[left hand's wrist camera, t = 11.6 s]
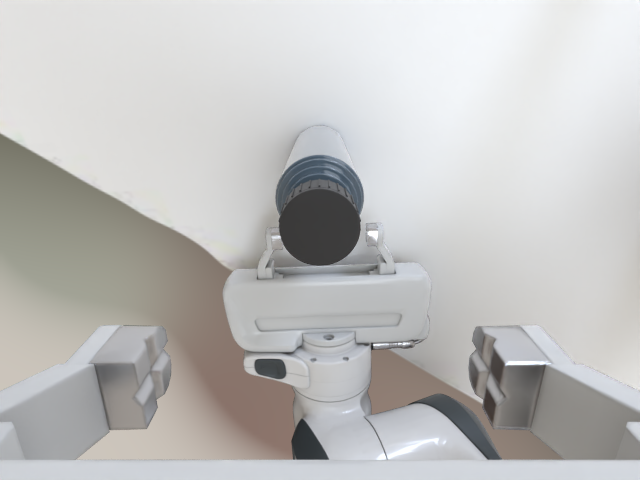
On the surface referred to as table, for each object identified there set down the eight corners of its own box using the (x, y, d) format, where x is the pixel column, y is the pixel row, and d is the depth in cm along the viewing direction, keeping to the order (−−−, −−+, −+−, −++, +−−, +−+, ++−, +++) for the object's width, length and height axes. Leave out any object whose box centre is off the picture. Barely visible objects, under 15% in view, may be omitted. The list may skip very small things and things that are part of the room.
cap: (322, 161, 20) (323, 169, 18) (373, 218, 21) (378, 231, 19) (265, 213, 21) (260, 225, 19) (317, 265, 22) (316, 281, 20)
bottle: (321, 113, 40) (324, 147, 18) (356, 154, 41) (396, 229, 20) (282, 150, 41) (242, 221, 20) (317, 188, 43) (315, 294, 21)
